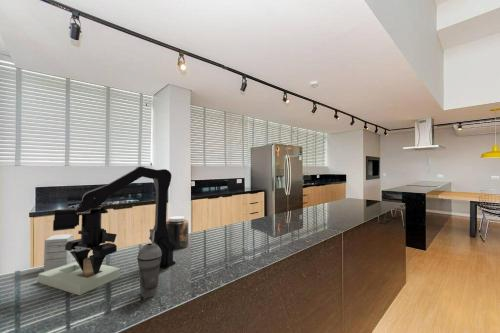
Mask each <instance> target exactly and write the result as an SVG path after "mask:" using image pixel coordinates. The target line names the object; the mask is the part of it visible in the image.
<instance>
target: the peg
mask: <svg viewBox="0 0 500 333" xmlns="http://www.w3.org/2000/svg"><path fill="white" fill-rule="evenodd" d="M93 275H96V274H94V271H93V268H92V264H91V261H90V257H89V256H88V258H86V259H84V262H83V277H85V278H88V277H91V276H93Z"/></svg>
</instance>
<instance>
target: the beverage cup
mask: <svg viewBox="0 0 500 333" xmlns="http://www.w3.org/2000/svg"><path fill="white" fill-rule="evenodd" d="M154 234H155V230H153V236H152V243H151V242H150V243H146V244H144V245H143V246H142V247H141V248H140V249H139V251H138V254H137V258H136V260H137V263H138V264H137V266H138V273H139V287H140V289H139V290H140V296H141V297H142V296H143V297H142V298H151V297H154V296H155V295H156V294H157V292H158V291H157V290H158V287H159V286H158V285H159V276H160V262H161V257H162V253H161V249H160V248H159V246H158V245H156V244H154V243H153V241H154Z"/></svg>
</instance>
